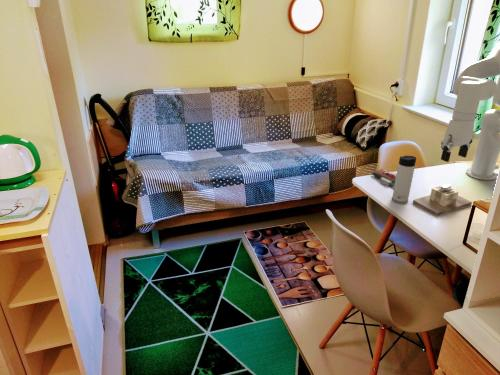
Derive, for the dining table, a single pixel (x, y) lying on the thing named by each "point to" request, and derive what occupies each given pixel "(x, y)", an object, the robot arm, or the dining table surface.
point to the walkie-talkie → (386, 177)
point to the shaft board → (439, 209)
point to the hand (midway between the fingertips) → (453, 158)
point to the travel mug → (403, 179)
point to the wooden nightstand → (443, 196)
